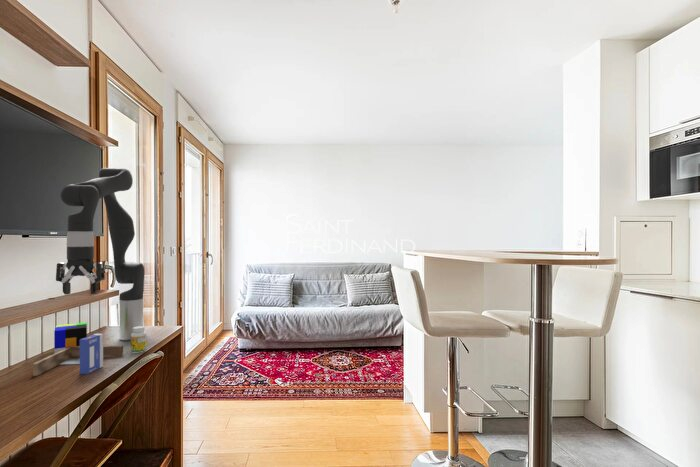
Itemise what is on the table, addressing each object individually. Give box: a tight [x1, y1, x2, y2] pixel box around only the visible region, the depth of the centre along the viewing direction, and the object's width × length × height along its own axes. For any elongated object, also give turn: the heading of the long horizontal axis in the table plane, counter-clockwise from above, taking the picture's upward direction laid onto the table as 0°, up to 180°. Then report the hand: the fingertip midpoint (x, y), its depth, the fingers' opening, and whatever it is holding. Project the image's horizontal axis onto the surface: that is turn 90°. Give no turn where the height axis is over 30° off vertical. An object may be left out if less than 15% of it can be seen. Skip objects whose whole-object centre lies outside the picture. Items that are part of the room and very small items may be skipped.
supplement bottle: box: [130, 325, 148, 354], centre depth 155 cm, size 5×5×10 cm
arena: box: [32, 345, 124, 377], centre depth 139 cm, size 19×19×4 cm
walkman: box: [79, 333, 104, 375], centre depth 133 cm, size 8×3×12 cm, turn 177°
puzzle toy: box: [53, 322, 88, 354], centre depth 154 cm, size 10×10×10 cm
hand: (80, 294), depth 132 cm, fingers open, 8 cm apart
